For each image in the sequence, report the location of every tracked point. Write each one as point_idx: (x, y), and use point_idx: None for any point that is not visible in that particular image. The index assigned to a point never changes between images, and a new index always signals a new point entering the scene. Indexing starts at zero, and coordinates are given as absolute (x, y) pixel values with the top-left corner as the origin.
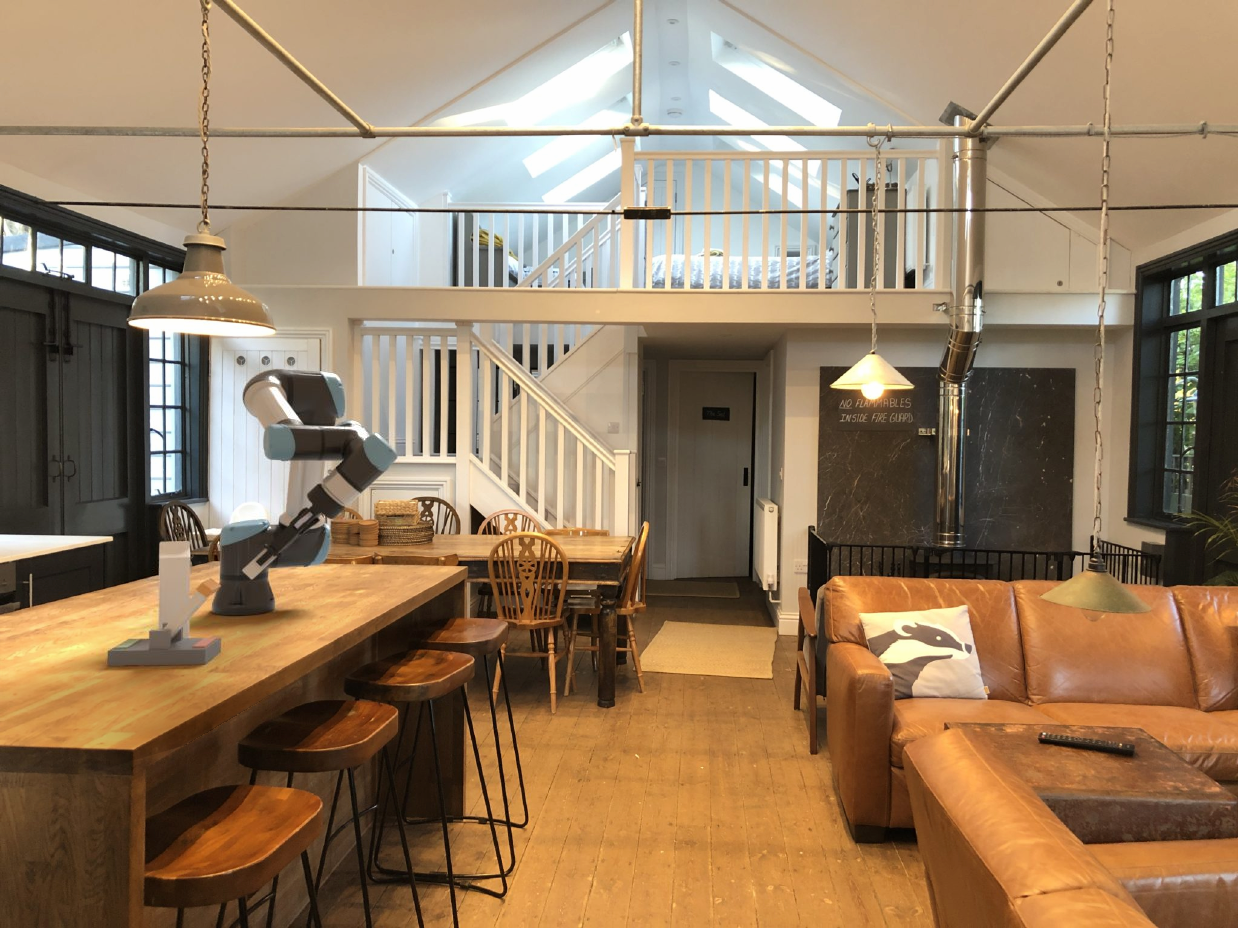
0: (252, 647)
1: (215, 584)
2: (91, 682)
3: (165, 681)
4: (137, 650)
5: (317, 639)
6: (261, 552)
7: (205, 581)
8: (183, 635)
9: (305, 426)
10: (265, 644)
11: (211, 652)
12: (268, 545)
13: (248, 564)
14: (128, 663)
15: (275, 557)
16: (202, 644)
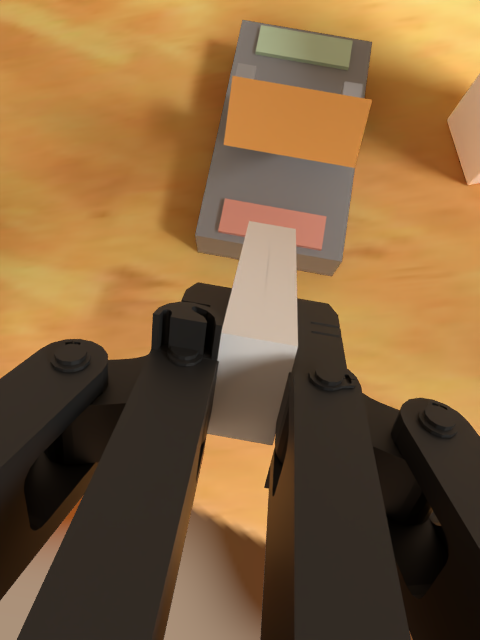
0: (370, 357)
1: (323, 140)
2: (102, 48)
3: (57, 184)
4: (230, 79)
5: None
6: (229, 304)
7: (275, 87)
8: (473, 161)
9: None
10: (403, 392)
11: None
12: (26, 361)
13: (243, 243)
14: None
15: (232, 432)
16: (243, 221)
